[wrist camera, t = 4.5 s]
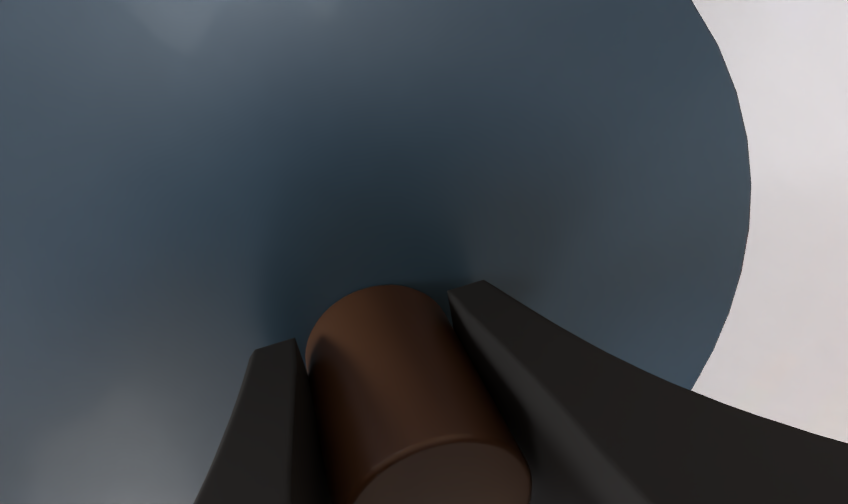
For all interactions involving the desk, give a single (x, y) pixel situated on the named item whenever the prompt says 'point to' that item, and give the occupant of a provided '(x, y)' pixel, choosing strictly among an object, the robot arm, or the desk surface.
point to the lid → (343, 224)
